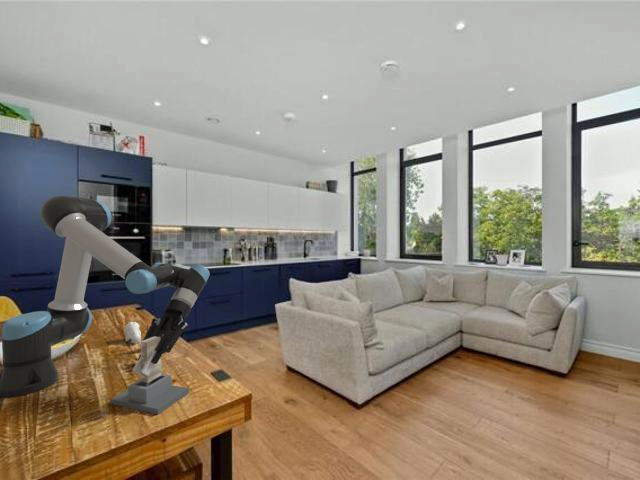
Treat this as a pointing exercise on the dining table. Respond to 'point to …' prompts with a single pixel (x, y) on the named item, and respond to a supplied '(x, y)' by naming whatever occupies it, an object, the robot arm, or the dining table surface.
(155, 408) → the rectangular socket base
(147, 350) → the slat
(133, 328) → the penguin figurine
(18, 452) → the dining table surface
